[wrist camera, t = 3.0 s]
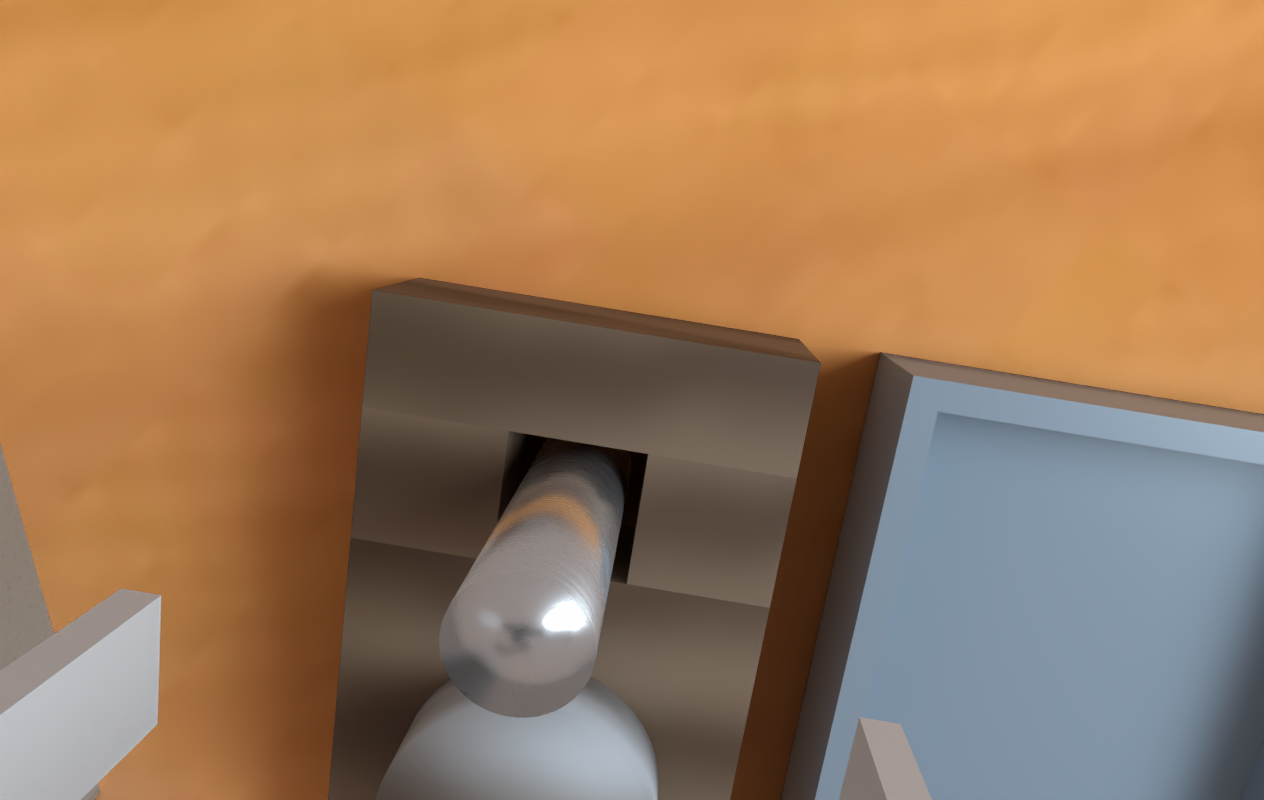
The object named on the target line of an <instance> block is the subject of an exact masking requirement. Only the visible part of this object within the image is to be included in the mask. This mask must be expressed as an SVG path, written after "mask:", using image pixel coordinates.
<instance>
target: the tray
mask: <svg viewBox="0 0 1264 800" xmlns="http://www.w3.org/2000/svg"><path fill="white" fill-rule="evenodd" d="M859 717H863V718H869V719H875V720H880V721H886V722H892V723H898V724H901V726H902V728H903V731H904V733H905V735H906V738H907V740H908V743H909V745H910V748H911V750H912V752H913V755H914V757H915V760H916V762H917V765H918V767H919V770H920V772H921V774H922V777H923V779H924V782H925V784H926V787H927V789H928V791H929V794H930V796H931V799H932V800H1264V414H1258V413H1252V412H1246V411H1240V410H1234V409H1227V408H1221V407H1215V406H1209V405H1203V404H1197V403H1190V402H1184V401H1178V400H1172V399H1166V398H1159V397H1153V396H1147V395H1141V394H1135V393H1128V392H1122V391H1116V390H1110V389H1104V388H1098V387H1091V386H1085V385H1079V384H1073V383H1067V382H1060V381H1054V380H1048V379H1042V378H1036V377H1029V376H1023V375H1017V374H1011V373H1005V372H999V371H992V370H986V369H980V368H974V367H968V366H961V365H955V364H949V363H943V362H937V361H930V360H924V359H918V358H912V357H906V356H900V355H893V354H887V353H881V352H880V357H879V361H878V366H877V370H876V375H875V379H874V384H873V388H872V393H871V397H870V402H869V406H868V411H867V415H866V420H865V424H864V429H863V433H862V438H861V442H860V447H859V451H858V456H857V460H856V465H855V469H854V474H853V478H852V482H851V487H850V491H849V496H848V500H847V505H846V509H845V514H844V518H843V523H842V527H841V532H840V536H839V541H838V545H837V550H836V554H835V559H834V563H833V568H832V572H831V577H830V581H829V586H828V590H827V595H826V599H825V604H824V608H823V613H822V617H821V621H820V626H819V630H818V635H817V639H816V644H815V648H814V653H813V657H812V662H811V666H810V671H809V675H808V680H807V684H806V689H805V693H804V698H803V702H802V707H801V711H800V716H799V720H798V725H797V729H796V734H795V738H794V743H793V747H792V752H791V756H790V761H789V765H788V769H787V774H786V778H785V783H784V787H783V792H782V796H781V800H839V797H840V793H841V789H842V785H843V781H844V777H845V773H846V769H847V765H848V760H849V756H850V752H851V748H852V744H853V740H854V736H855V732H856V728H857V724H858V719H859Z"/></svg>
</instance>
